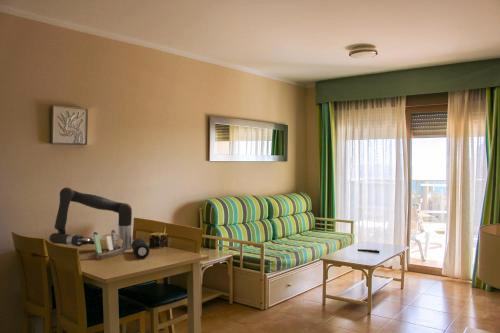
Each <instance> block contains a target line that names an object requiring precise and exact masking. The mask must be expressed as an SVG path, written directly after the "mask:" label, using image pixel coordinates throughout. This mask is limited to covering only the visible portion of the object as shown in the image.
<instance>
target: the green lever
mask: <svg viewBox="0 0 500 333" xmlns="http://www.w3.org/2000/svg"><path fill="white" fill-rule="evenodd" d="M92 239H93V241H94V244H93V245H94V248H95V252H98V254H99V253H102V251H103V250H102V246H101V241H100V235H99V233H98V232H97V231H94V232H93V234H92Z"/></svg>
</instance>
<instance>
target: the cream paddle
mask: <svg viewBox="0 0 500 333" xmlns="http://www.w3.org/2000/svg"><path fill="white" fill-rule="evenodd" d="M104 238H105V243H106V249H109V251H110V250H113V247H114V245H113V239H112V234H111V235H107V236H104Z"/></svg>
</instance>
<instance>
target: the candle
mask: <svg viewBox="0 0 500 333" xmlns="http://www.w3.org/2000/svg"><path fill="white" fill-rule="evenodd" d="M167 237H168V233H165V232H154V233H153V232H152V233H150V234H149V235H148V239H149V240H148V241H149V242H148V244H149V245H148V247H149V248H154V247H162V248H164V247H168V238H167Z"/></svg>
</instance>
